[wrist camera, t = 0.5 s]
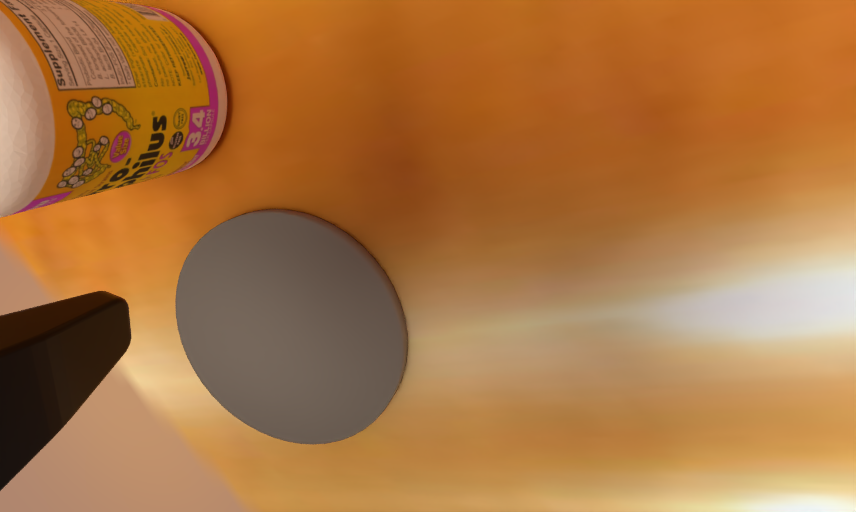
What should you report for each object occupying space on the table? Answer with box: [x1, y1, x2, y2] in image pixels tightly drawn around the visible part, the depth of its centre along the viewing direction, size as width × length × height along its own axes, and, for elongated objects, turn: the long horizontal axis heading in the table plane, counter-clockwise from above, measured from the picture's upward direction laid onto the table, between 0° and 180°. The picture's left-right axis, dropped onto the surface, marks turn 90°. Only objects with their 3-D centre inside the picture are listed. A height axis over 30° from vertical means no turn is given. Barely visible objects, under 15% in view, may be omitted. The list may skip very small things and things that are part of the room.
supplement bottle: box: [0, 0, 227, 217], centre depth 19 cm, size 7×7×13 cm
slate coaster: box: [176, 209, 408, 444], centre depth 27 cm, size 11×11×1 cm
